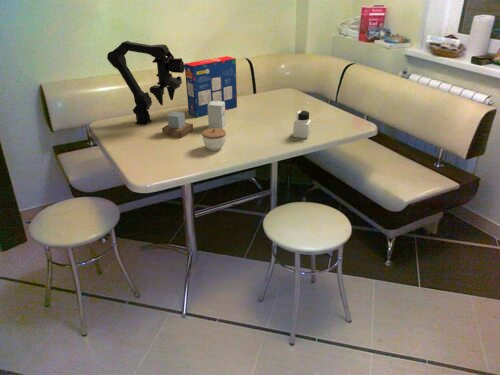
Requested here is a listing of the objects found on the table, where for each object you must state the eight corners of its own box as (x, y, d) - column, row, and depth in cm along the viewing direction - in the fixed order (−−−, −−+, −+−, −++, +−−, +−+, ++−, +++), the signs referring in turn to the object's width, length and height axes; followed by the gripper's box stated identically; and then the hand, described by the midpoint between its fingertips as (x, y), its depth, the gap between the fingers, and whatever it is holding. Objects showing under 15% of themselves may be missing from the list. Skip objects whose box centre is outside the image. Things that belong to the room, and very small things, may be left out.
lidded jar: (229, 151, 186) (228, 131, 181) (205, 154, 183) (204, 134, 179) (223, 142, 195) (222, 123, 190) (201, 145, 192) (199, 126, 188)
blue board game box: (228, 104, 246) (227, 56, 233) (237, 107, 241) (235, 58, 227) (188, 114, 231) (184, 63, 217) (196, 117, 226) (192, 66, 212)
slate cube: (168, 127, 204) (167, 115, 201) (174, 123, 209) (173, 111, 206) (179, 128, 202) (178, 116, 199) (185, 124, 207) (184, 112, 204)
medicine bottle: (310, 133, 203) (312, 110, 197) (307, 138, 197) (308, 114, 192) (296, 132, 205) (297, 108, 200) (292, 137, 199) (293, 113, 194)
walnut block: (162, 135, 204) (161, 128, 203) (175, 128, 213) (174, 120, 211) (181, 138, 200) (180, 131, 199) (193, 131, 209) (192, 123, 207)
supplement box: (222, 129, 209) (221, 105, 203) (208, 129, 210) (206, 105, 204) (226, 124, 215) (225, 101, 209) (212, 124, 217) (211, 100, 211)
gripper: (166, 77, 193) (170, 109, 201) (187, 69, 208) (189, 99, 216) (147, 75, 197) (151, 107, 205) (168, 67, 212) (171, 96, 220)
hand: (166, 102), depth 211 cm, fingers open, 9 cm apart
